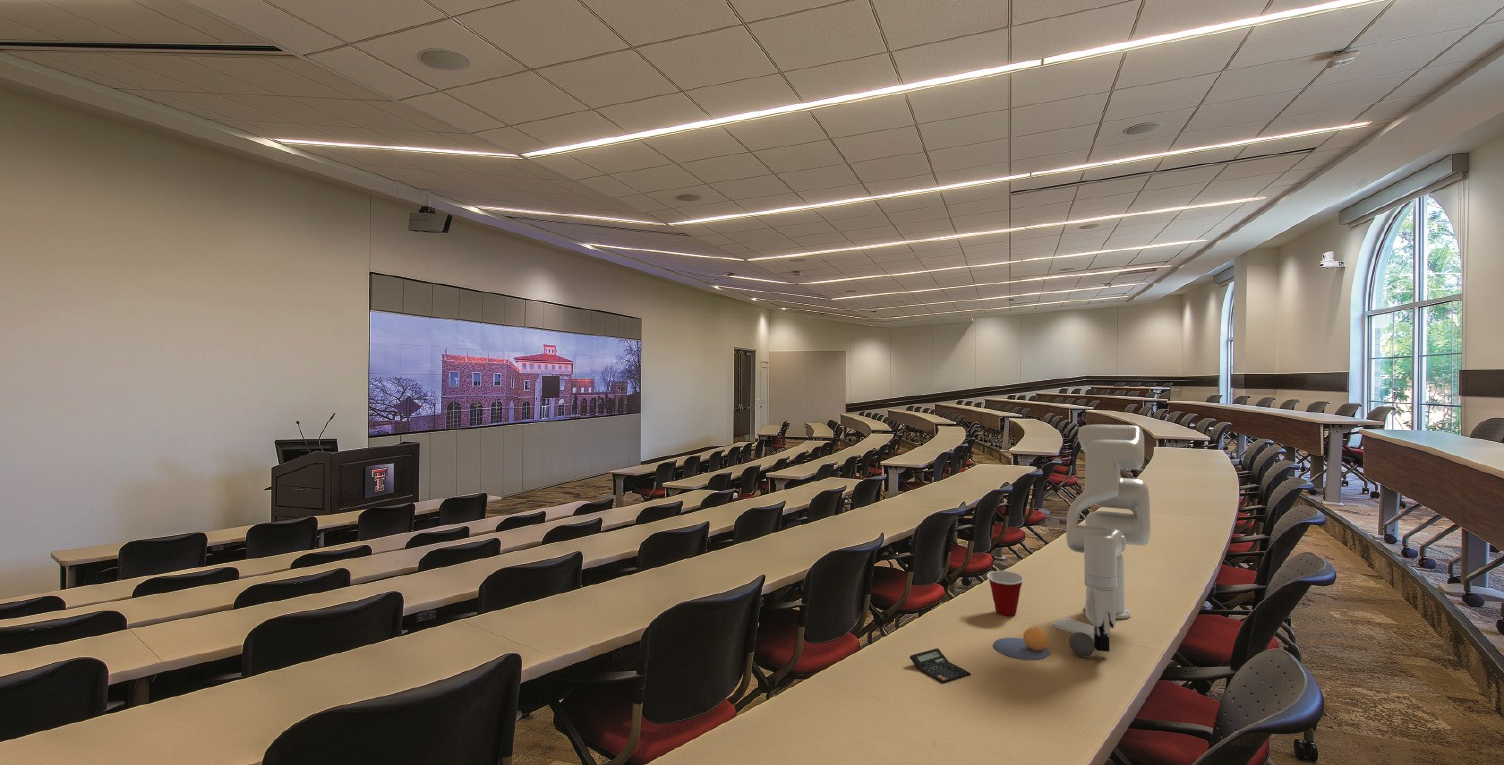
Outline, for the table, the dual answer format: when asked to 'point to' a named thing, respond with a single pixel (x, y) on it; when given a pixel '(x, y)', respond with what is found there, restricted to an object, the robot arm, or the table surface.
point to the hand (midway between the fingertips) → (1101, 650)
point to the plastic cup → (1005, 591)
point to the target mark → (1018, 649)
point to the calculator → (938, 666)
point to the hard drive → (1074, 626)
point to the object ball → (1035, 638)
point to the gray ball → (1081, 644)
